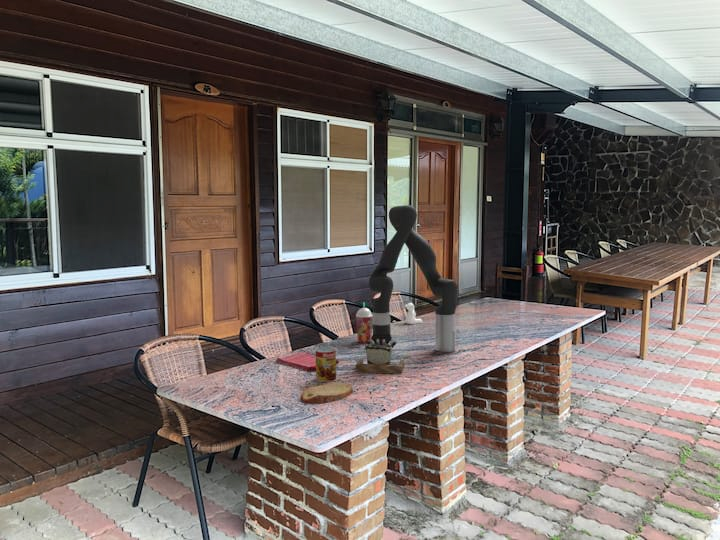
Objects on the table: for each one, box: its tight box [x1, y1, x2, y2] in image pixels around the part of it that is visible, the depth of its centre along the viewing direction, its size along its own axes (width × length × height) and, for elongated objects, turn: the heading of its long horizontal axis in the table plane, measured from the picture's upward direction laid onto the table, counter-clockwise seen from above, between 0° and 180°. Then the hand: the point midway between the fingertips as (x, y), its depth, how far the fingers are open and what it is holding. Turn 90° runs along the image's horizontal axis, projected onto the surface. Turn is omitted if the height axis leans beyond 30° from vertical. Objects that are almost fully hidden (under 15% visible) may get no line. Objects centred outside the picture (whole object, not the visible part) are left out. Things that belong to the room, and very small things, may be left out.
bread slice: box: [299, 382, 354, 405], centre depth 218 cm, size 18×18×4 cm
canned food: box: [315, 346, 337, 383], centre depth 237 cm, size 8×8×12 cm
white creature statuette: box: [404, 302, 423, 325], centre depth 340 cm, size 10×9×12 cm
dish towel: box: [275, 351, 340, 372], centre depth 261 cm, size 17×24×3 cm
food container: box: [363, 342, 394, 365], centre depth 251 cm, size 12×6×10 cm, turn 67°
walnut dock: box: [354, 358, 405, 374], centre depth 249 cm, size 19×10×3 cm, turn 79°
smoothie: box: [355, 302, 373, 344], centre depth 296 cm, size 8×8×20 cm
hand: (381, 362), depth 254 cm, fingers closed
